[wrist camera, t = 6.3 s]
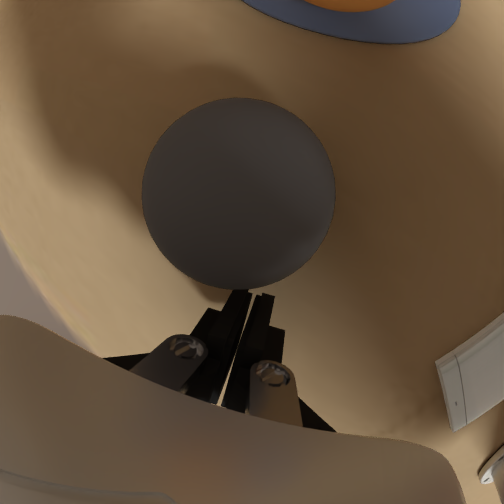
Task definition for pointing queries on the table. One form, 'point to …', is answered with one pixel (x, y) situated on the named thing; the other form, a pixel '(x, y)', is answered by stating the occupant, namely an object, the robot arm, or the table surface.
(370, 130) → the table surface
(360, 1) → the object ball
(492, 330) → the hard drive
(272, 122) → the gray ball
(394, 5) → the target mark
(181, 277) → the table surface
